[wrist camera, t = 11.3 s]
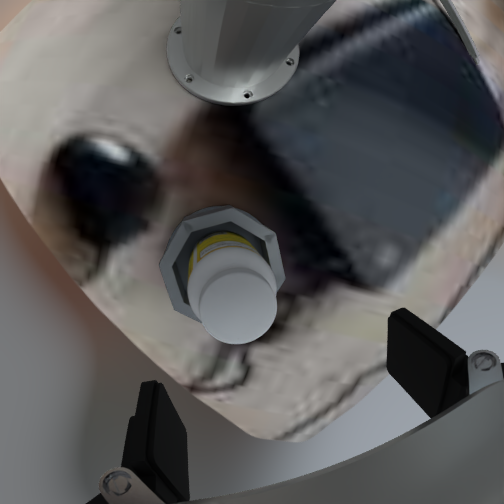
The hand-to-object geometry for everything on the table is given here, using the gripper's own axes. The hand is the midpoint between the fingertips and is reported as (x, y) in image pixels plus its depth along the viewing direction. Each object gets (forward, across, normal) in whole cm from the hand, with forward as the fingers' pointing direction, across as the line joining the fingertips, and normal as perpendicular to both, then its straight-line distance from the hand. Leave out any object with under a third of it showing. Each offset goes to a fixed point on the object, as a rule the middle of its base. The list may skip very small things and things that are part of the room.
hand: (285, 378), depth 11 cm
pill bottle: (+18, +1, 0) cm, 18 cm away
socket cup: (+19, +1, 0) cm, 19 cm away
